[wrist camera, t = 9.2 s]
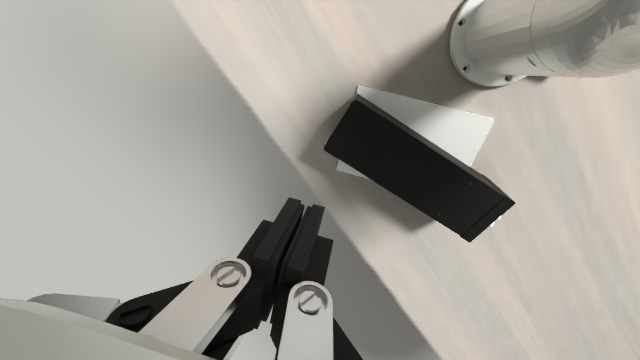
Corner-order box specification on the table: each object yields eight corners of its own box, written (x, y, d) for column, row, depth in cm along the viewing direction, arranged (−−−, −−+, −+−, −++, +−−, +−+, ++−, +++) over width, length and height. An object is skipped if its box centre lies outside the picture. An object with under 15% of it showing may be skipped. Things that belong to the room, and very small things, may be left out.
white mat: (493, 118, 36) (495, 118, 36) (451, 200, 42) (452, 201, 42) (358, 84, 38) (358, 85, 37) (336, 169, 44) (335, 170, 43)
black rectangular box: (356, 92, 38) (506, 190, 40) (329, 135, 41) (468, 224, 43) (354, 97, 31) (536, 216, 33) (321, 149, 34) (488, 254, 36)
